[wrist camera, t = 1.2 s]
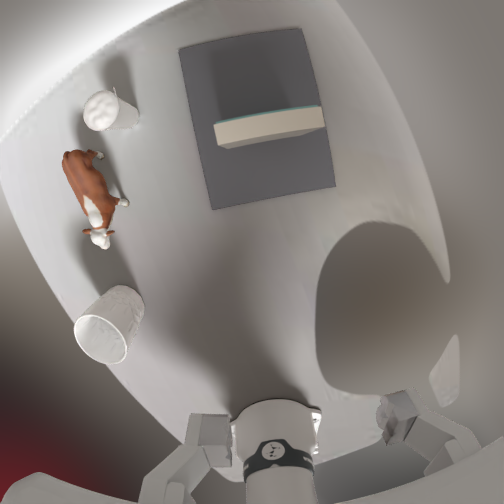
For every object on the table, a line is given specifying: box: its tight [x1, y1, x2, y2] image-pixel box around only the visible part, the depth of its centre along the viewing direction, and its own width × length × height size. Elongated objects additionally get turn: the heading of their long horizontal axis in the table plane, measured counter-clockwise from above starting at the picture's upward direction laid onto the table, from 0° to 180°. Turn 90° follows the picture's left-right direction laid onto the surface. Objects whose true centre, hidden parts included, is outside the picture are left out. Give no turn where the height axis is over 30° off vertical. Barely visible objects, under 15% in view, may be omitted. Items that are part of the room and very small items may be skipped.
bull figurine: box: [62, 149, 129, 249], centre depth 32 cm, size 4×13×8 cm, turn 22°
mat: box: [179, 29, 336, 210], centre depth 32 cm, size 22×16×1 cm
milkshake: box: [83, 87, 139, 131], centre depth 28 cm, size 4×5×10 cm
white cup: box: [74, 285, 145, 364], centre depth 36 cm, size 8×8×10 cm
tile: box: [214, 105, 325, 149], centre depth 27 cm, size 2×9×12 cm, turn 102°
